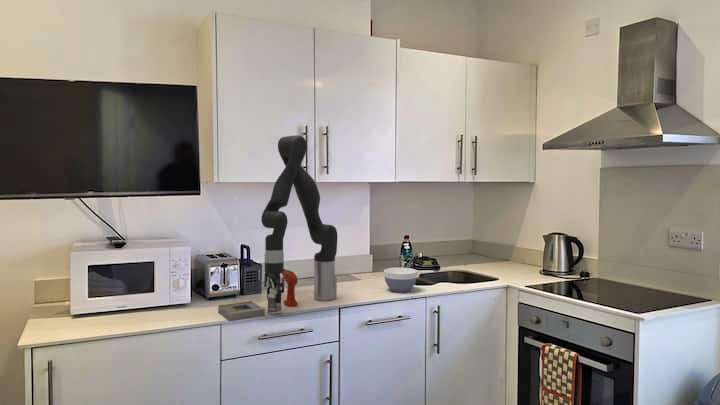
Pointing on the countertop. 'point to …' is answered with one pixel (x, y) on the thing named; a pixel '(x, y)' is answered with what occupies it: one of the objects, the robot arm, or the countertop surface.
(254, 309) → the grey flat square block
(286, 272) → the toy drill
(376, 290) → the countertop surface
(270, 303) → the pill bottle
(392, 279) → the bowl
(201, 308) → the countertop surface
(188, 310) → the countertop surface
